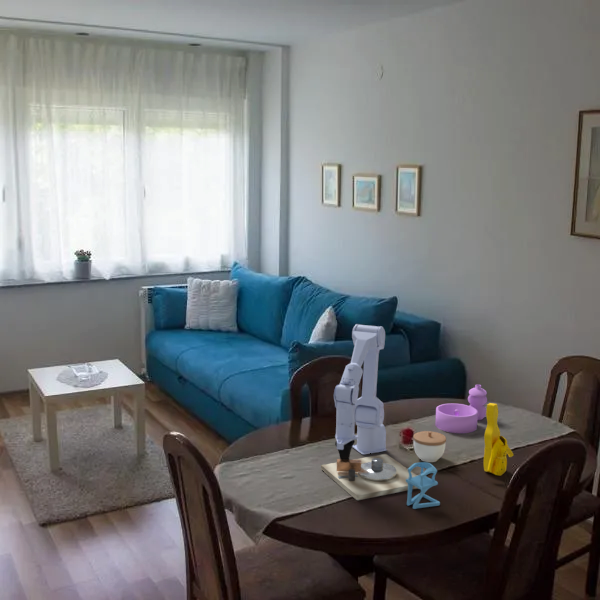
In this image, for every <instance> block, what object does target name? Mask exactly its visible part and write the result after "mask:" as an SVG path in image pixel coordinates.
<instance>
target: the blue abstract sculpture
mask: <svg viewBox="0 0 600 600" xmlns="http://www.w3.org/2000/svg"><path fill="white" fill-rule="evenodd" d="M417 467H419V468H420V473H419V474H418V475H417V476H415V477H412V474H411V472H412V470H413V469H414V468H417ZM407 469H408V472H409V478H408V479H406V482H407V483H408V490H407V497H406V498H407V500H406V505H407V506H412V509H414V510H416V509H422V508H429V507H430V508H431V507H437V506H440V505H441V502H440V501H439V500H437V499H435V498H433V497H431V496H429V495H427V494H425V493H426V492H427V491H428V490H429V489H431V488H432V487H434V486H438V485H439V482H438V481H437V480H436V479H435V478H436V474H437V473H438V469H437V468H436V467H435V466H434V465H433V463H431V462H424V461H420V462H415V463H414V462H413V464H411V465H410V466H409V467H408V468H407ZM424 469H425V470H424ZM429 474H432V475H431V478H430V477H428V476H427V475H429ZM413 485H414V486H415V487H417V489H418V490H420V493H418V494H416V495H415V496H413V497H412V494H413V489H412V488H413ZM422 498H423V499H426V500H428V501H430V502H423V503H420V502H421V500H422Z"/></svg>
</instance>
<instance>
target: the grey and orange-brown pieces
mask: <svg viewBox="0 0 600 600" xmlns="http://www.w3.org/2000/svg"><path fill="white" fill-rule="evenodd" d="M336 462H337V471H344V472H349V470H350V469H354V470H355V472H358V475H359V476H360V477H362V478H364V479H367V480H371V481H387V480H391V479H393V478H395V477H396V468H395V467H394V466H392V465H390V464H387V463H383V460H382V459H380V458H374V459H372V461H371V462H367V463H363V464H361V460H354V459H349V460H348V459H340V458H336Z"/></svg>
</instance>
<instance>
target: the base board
mask: <svg viewBox="0 0 600 600" xmlns="http://www.w3.org/2000/svg"><path fill="white" fill-rule="evenodd" d="M374 458H380V459H382V460H383V463H387V464H390V465H392V466H394V467H395V468H396V477H395V478H393V479H391V480H387V481H371V480H367V479H364V478H362V477H360V476H359V475H358V472H355V470H354V469H350V470H349V472H344V471H337V461H336V462H331V463H326V464H321V465H320V470H321V471H322V470H323V471H324V472H323V471H322V472H323V473H325V474H326V475H327V476H328V477H329V478H330V477H331V478H330V479H332V480H333V482H335V483H336V484H338V486H339V487H341V488H342V489H343V490H345V492H346V493H348V494H349V495H350V496H351V497H352V498H354V499H355V500H356V501H361V500H366V499H367V500H368V499H370V498H377V497H380V496H386V495H391V494H395V493H401V492H408V483H407V482H406V479H408V478H409V472H408V468H407V467H406V466H405V465H402V463H400V462H399V461H397V460H395V459H394V458H393V457H391V456H390V455H388V454H387V453H383V454H378V455H372V456H366V457H361V458H354V459H353V460H361V464H363V463H367V462H371V461H372V459H374ZM411 474H412V477H415V476H418V475H417V474H416V473H414V472H413V471H411ZM417 489H418V488H417V487H415V486H414V485H413V488H412V490H417Z"/></svg>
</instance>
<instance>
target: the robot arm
mask: <svg viewBox="0 0 600 600" xmlns="http://www.w3.org/2000/svg"><path fill="white" fill-rule="evenodd" d="M351 338H352V342H353V346H354V347H353V351H352V356H351V358H350V359H351V360H350V362H349V363H348V364H347V365H345V368H344V371H343V373H342V376H341V379H340V382H339V384H336V386H335V388H334V390H333V391H334V392H333V400H334V408H336V415H335V417H336V418H335V419H336V421H335V423H336V425H335V426H336V427H335V435H334V437H335V447H336V450H337V451H338V456H339V459H348V460H350V456H351V451H352V449H354V450H356V451H357V452H358V453H360V454H361V455H362V456H363V455H370V453H371V454H377V453H381V452H387V448H386V447H387V445H386V443H387V430H386V427H385V425H384V424H383V423H384V420H385V419H384V418H385V410H384V406H385V405H384V402H383V401H381V400H380V399H379V397H377V384H378V372H379V370H378V369H379V354H380V350H385V349H384V348H385V343H386V342H385V341H386V331H385V328H384V326H381V325H380V326H379V325H378V326H376V325H365V324H360V323H356V324H355V325H354V326H353V328H352V331H351ZM362 365H363V368H362ZM361 379H362V386H361V387H362V389H361V396H360V397H359V391H360V386H359V385H360V382H361ZM355 426H357V431H356V434H355V428H356V427H355ZM355 440H356V444H355Z"/></svg>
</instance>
